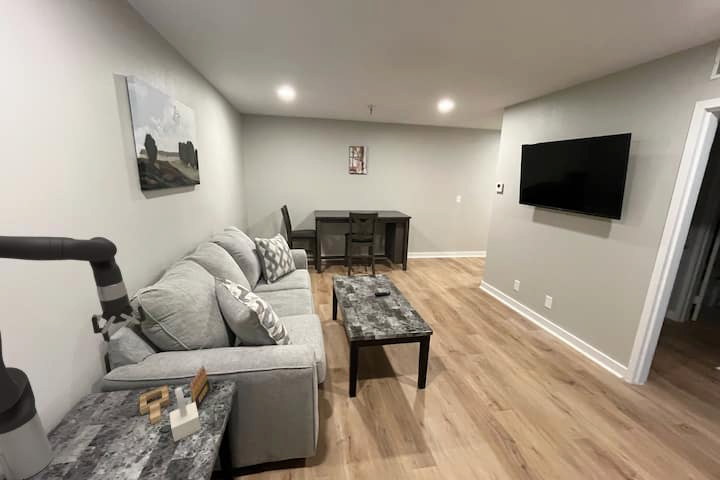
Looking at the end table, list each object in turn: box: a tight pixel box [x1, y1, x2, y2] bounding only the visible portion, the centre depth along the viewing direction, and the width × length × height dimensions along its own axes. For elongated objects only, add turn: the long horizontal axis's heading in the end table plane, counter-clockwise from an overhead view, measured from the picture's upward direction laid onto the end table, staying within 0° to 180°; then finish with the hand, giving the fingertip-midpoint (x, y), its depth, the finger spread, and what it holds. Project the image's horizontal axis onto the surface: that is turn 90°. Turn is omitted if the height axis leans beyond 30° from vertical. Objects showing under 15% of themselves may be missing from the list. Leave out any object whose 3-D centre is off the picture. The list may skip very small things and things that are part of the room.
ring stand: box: [169, 386, 202, 443], centre depth 103 cm, size 8×8×16 cm
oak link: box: [139, 385, 171, 425], centre depth 113 cm, size 16×9×2 cm, turn 36°
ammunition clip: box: [189, 365, 211, 411], centre depth 115 cm, size 11×2×12 cm, turn 2°
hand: (124, 336), depth 106 cm, fingers open, 8 cm apart
